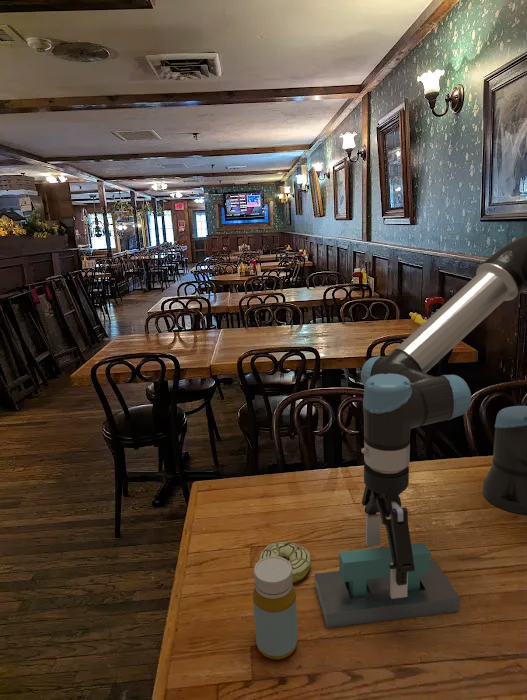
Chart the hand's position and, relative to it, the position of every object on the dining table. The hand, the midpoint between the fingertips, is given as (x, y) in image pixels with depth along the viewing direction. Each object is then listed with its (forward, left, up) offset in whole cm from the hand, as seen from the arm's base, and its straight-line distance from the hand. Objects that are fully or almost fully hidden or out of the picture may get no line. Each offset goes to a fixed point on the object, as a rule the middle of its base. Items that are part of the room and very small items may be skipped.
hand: (384, 568), depth 89 cm
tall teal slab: (0, 0, -7) cm, 7 cm away
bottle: (+21, +7, -7) cm, 23 cm away
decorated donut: (+17, -11, -7) cm, 21 cm away
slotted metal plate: (0, 0, -7) cm, 7 cm away
